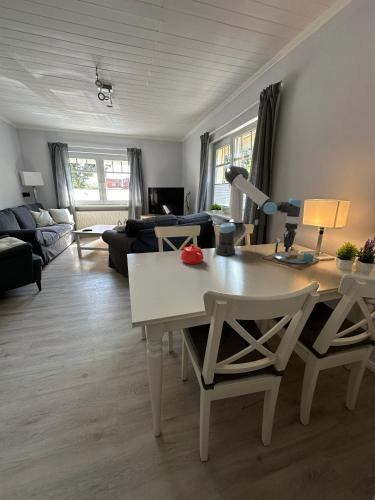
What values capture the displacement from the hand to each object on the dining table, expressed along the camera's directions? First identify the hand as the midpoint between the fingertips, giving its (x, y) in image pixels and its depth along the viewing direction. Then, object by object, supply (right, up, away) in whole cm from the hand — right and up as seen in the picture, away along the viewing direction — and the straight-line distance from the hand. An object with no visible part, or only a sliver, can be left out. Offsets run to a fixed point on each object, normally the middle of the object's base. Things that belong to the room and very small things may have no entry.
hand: (286, 256), depth 149 cm
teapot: (-67, -4, -1) cm, 67 cm away
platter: (+6, -2, +4) cm, 8 cm away
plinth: (+5, -3, +5) cm, 8 cm away
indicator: (0, +2, +19) cm, 19 cm away
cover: (+5, -1, +4) cm, 6 cm away
